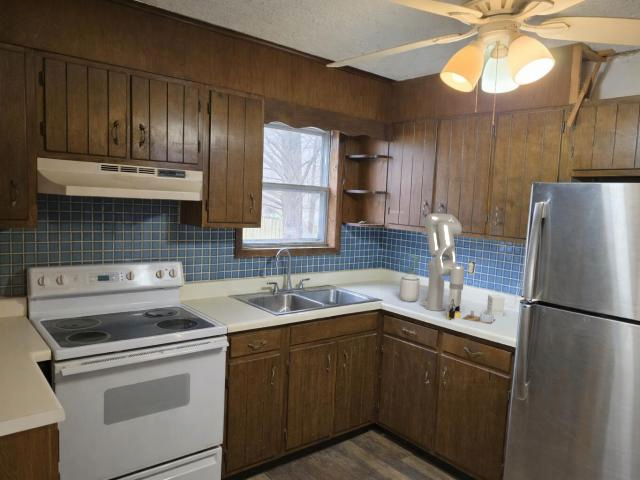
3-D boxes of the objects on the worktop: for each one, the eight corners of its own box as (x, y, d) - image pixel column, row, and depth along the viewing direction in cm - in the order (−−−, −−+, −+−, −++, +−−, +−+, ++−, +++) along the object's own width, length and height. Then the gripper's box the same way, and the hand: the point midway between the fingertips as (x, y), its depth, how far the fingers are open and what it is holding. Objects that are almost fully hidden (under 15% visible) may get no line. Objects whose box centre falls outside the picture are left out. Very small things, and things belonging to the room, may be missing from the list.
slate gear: (480, 321, 263) (481, 314, 262) (478, 318, 270) (479, 311, 269) (494, 322, 262) (494, 315, 261) (491, 319, 269) (492, 312, 268)
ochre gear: (445, 318, 270) (446, 312, 269) (449, 316, 276) (449, 309, 275) (458, 321, 266) (458, 314, 265) (461, 318, 272) (462, 312, 271)
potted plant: (404, 297, 322) (407, 252, 319) (421, 300, 315) (424, 254, 312) (396, 300, 312) (399, 254, 309) (413, 303, 305) (417, 256, 302)
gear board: (461, 321, 267) (462, 309, 266) (467, 316, 278) (468, 305, 277) (490, 326, 258) (491, 314, 258) (495, 321, 269) (496, 310, 269)
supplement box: (498, 315, 284) (499, 295, 283) (503, 318, 277) (505, 297, 276) (486, 315, 284) (487, 294, 283) (490, 318, 277) (492, 297, 276)
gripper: (454, 283, 278) (452, 312, 280) (445, 287, 263) (443, 317, 265) (466, 285, 274) (464, 314, 276) (458, 289, 259) (456, 319, 261)
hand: (454, 315), depth 270 cm, fingers open, 9 cm apart
